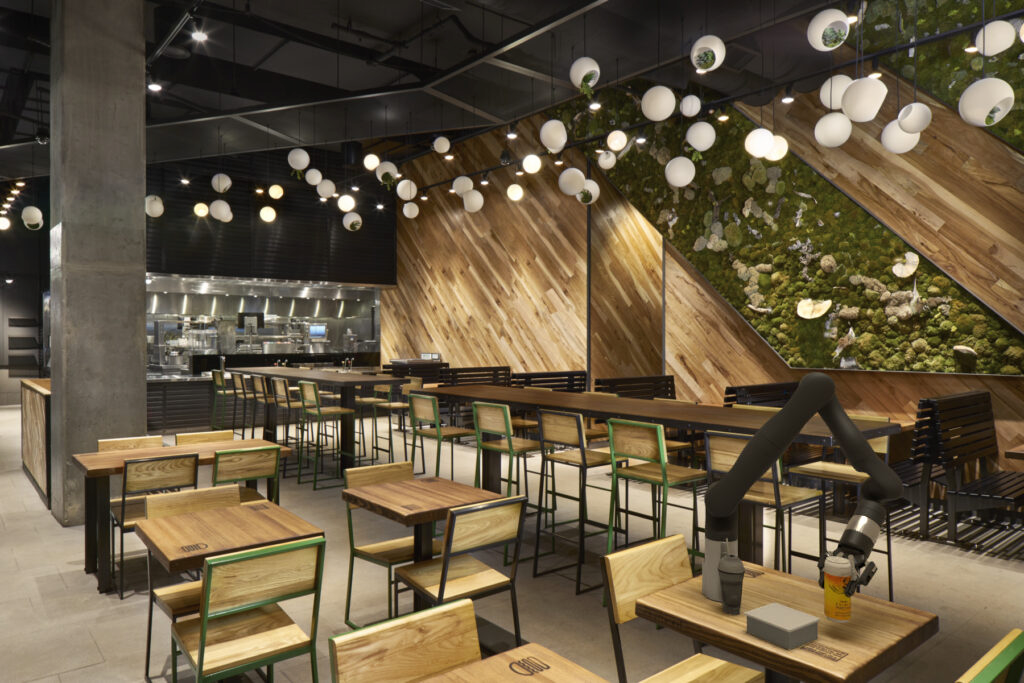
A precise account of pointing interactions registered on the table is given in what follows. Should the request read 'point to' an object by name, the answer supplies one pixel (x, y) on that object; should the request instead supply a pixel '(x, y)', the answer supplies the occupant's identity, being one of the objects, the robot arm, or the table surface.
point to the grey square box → (782, 625)
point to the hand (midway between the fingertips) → (834, 591)
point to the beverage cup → (731, 582)
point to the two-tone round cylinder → (837, 589)
